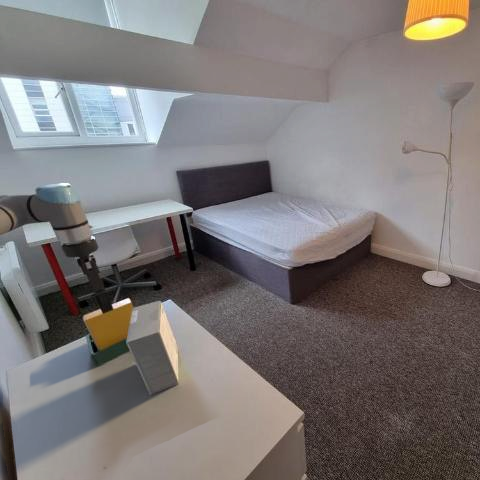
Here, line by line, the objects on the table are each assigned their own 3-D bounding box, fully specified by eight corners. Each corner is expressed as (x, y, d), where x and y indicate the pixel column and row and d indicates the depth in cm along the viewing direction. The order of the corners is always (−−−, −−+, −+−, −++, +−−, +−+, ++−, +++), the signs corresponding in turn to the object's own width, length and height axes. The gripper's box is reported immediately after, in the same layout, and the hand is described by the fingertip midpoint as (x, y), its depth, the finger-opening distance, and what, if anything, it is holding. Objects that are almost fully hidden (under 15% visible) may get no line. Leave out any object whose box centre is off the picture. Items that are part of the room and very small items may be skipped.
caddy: (91, 346, 92) (85, 335, 90) (144, 322, 102) (140, 312, 100) (96, 367, 84) (91, 356, 82) (154, 338, 94) (150, 328, 92)
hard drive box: (152, 357, 87) (132, 307, 78) (178, 348, 90) (161, 299, 82) (149, 396, 74) (125, 342, 66) (179, 384, 77) (160, 331, 69)
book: (100, 352, 88) (82, 315, 82) (142, 332, 96) (128, 297, 90) (102, 357, 86) (83, 321, 80) (145, 337, 94) (131, 302, 88)
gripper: (101, 248, 70) (127, 313, 78) (87, 225, 86) (110, 281, 94) (63, 258, 65) (95, 326, 73) (56, 232, 81) (83, 290, 90)
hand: (104, 301), depth 84 cm, fingers open, 13 cm apart
